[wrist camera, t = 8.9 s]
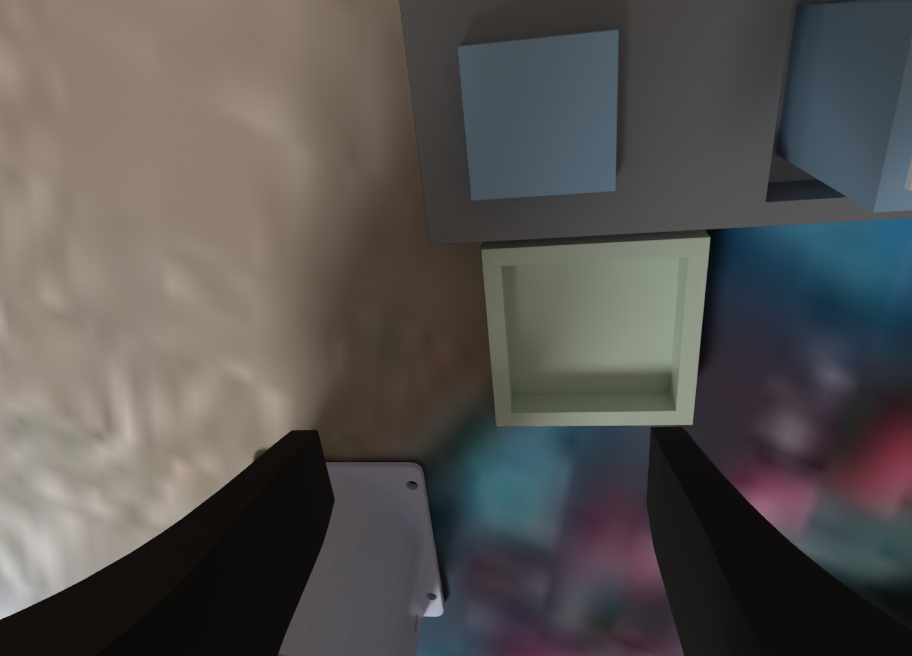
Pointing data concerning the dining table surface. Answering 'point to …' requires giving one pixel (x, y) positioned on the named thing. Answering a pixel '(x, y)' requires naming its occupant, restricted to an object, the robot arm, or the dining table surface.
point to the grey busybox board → (606, 118)
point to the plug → (852, 100)
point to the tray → (596, 328)
